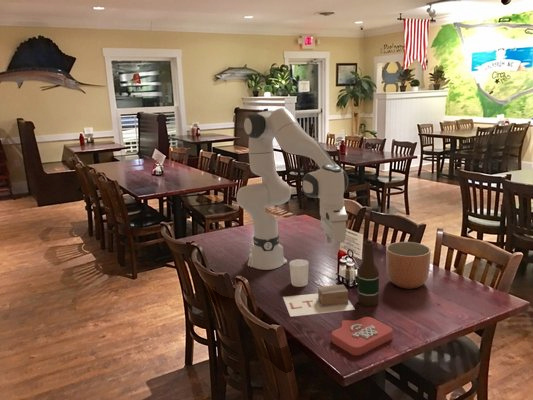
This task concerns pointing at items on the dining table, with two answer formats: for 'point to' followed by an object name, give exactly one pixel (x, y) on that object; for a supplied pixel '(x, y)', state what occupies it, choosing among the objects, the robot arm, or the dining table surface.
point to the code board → (311, 305)
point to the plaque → (361, 335)
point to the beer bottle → (368, 278)
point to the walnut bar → (333, 295)
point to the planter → (408, 264)
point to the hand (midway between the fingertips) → (332, 246)
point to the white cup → (299, 272)
